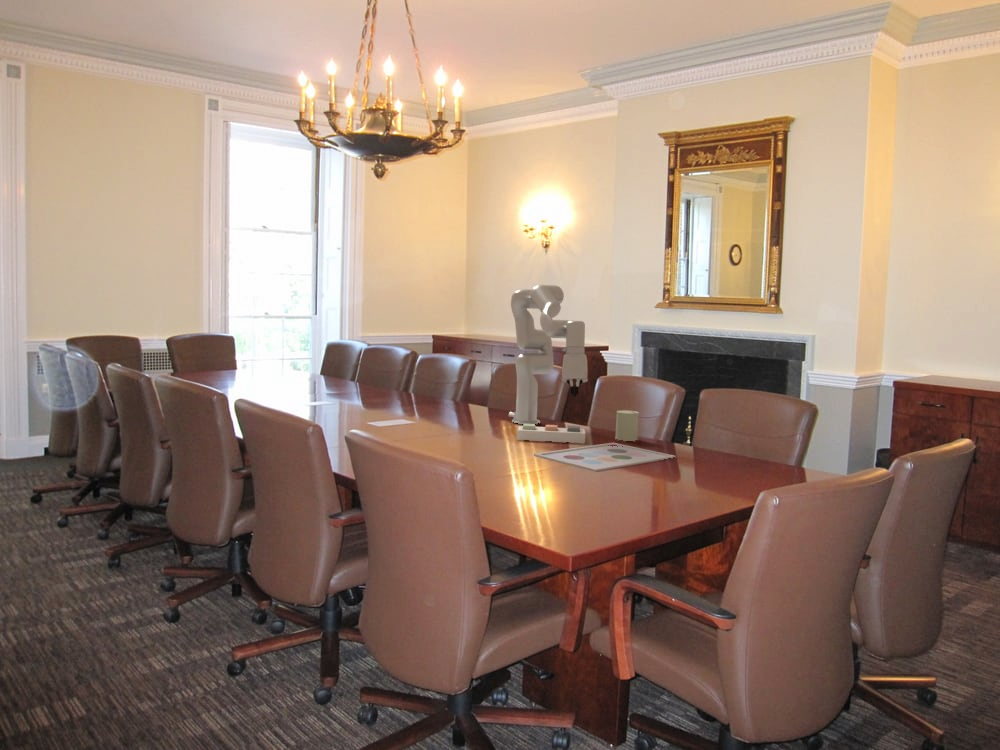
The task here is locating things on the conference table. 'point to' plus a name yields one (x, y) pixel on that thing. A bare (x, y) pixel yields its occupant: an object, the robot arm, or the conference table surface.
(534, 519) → the conference table surface
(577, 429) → the charcoal button
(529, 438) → the button strip
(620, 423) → the can
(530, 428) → the sage button
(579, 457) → the dotted sorting mat
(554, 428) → the terracotta button
